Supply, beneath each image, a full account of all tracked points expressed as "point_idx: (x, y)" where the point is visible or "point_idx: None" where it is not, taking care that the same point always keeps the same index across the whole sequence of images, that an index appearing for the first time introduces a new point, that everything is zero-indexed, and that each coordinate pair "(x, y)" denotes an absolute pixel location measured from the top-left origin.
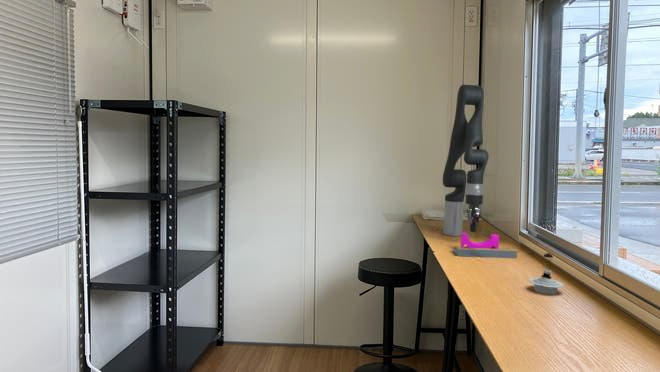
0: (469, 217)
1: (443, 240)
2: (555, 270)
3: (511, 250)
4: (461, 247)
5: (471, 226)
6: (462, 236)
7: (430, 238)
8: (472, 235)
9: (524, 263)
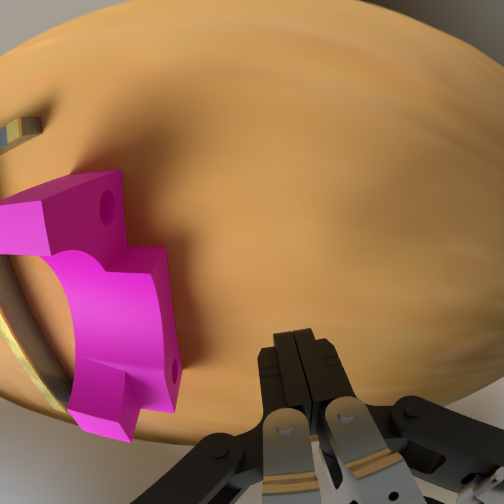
0: (359, 469)
1: (420, 96)
2: (13, 401)
3: (44, 393)
4: (78, 175)
5: (281, 379)
6: (4, 200)
7: (450, 37)
8: (501, 304)
9: (20, 375)
